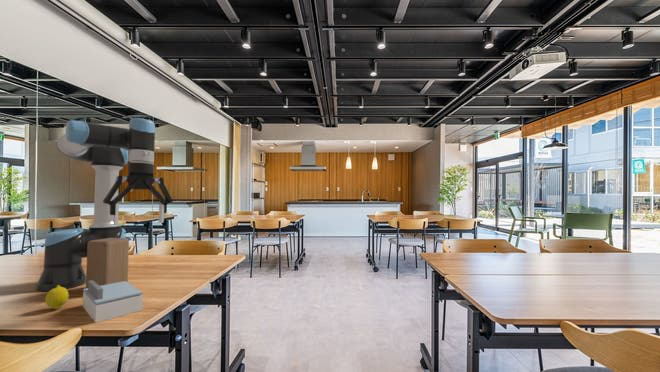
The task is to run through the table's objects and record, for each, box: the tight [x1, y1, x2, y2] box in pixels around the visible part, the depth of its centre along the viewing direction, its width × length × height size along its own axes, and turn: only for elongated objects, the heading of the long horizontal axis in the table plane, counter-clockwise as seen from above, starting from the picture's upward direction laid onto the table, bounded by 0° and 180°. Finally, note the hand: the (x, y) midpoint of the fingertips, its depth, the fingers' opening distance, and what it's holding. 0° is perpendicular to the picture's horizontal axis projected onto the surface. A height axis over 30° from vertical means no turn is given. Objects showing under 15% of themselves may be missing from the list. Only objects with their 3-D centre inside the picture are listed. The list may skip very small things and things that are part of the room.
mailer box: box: [82, 291, 144, 324], centre depth 94 cm, size 19×12×5 cm, turn 50°
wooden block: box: [85, 238, 130, 289], centre depth 114 cm, size 10×10×20 cm
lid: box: [83, 280, 144, 304], centre depth 94 cm, size 19×12×4 cm, turn 50°
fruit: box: [44, 285, 70, 310], centre depth 93 cm, size 6×6×8 cm
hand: (139, 223), depth 97 cm, fingers open, 13 cm apart
